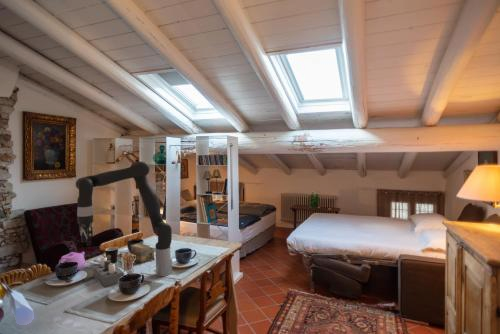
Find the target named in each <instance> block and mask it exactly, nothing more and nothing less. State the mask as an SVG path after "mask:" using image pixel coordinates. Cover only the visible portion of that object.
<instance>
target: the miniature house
mask: <svg viewBox="0 0 500 334" xmlns="http://www.w3.org/2000/svg"><path fill="white" fill-rule="evenodd" d="M155 252H156V249H155V248H153V247H151V246H150V245H147V244H143V243H140V242H138V243H135V244H130V254H131V253H132V254H134V255H136V260H135V262H134V263H136V265H138V264H140V265H143V264H145V263H148V262H153V261H156V258H155Z"/></svg>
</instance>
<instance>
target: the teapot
mask: <svg viewBox="0 0 500 334" xmlns="http://www.w3.org/2000/svg"><path fill="white" fill-rule="evenodd" d="M85 254H86V253H85V251H81V252H74V251H71V252H69V253H67V254H65V255H62V256H61V258H60V259H59V260H58V265H59V264H60V263H65V262H77V263H78V270H81V271H83V268H85V266H86V259H85Z"/></svg>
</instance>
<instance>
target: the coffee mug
mask: <svg viewBox="0 0 500 334" xmlns="http://www.w3.org/2000/svg"><path fill="white" fill-rule="evenodd" d="M103 252H105V255H104V254H103ZM118 253H119V247H118V246H109V247H106V248H105V249H103V250H101V251H100V254H101V255H102V257H107V260H111V263H112V264H115V265H116V264H117V262H118V255H119V254H118Z"/></svg>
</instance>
